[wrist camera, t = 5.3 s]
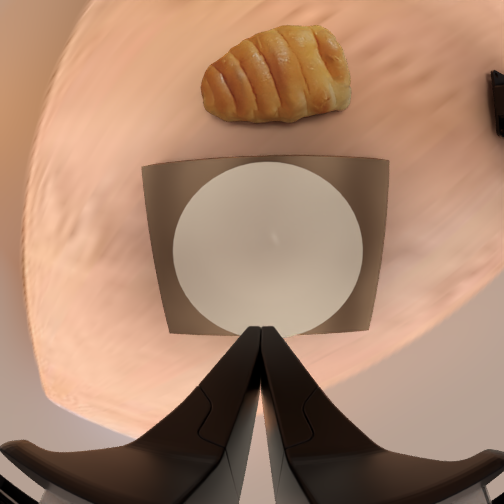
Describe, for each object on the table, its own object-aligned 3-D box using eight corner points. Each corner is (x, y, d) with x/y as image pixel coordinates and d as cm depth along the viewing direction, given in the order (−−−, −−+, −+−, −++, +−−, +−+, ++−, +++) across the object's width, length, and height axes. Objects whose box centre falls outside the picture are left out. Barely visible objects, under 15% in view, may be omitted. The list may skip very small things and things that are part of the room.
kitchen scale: (375, 158, 18) (394, 161, 15) (360, 313, 22) (371, 336, 19) (155, 164, 19) (136, 167, 16) (177, 316, 23) (166, 339, 20)
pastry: (222, 145, 18) (212, 146, 14) (192, 62, 16) (175, 47, 12) (351, 108, 16) (371, 102, 13) (319, 26, 14) (329, 5, 10)
